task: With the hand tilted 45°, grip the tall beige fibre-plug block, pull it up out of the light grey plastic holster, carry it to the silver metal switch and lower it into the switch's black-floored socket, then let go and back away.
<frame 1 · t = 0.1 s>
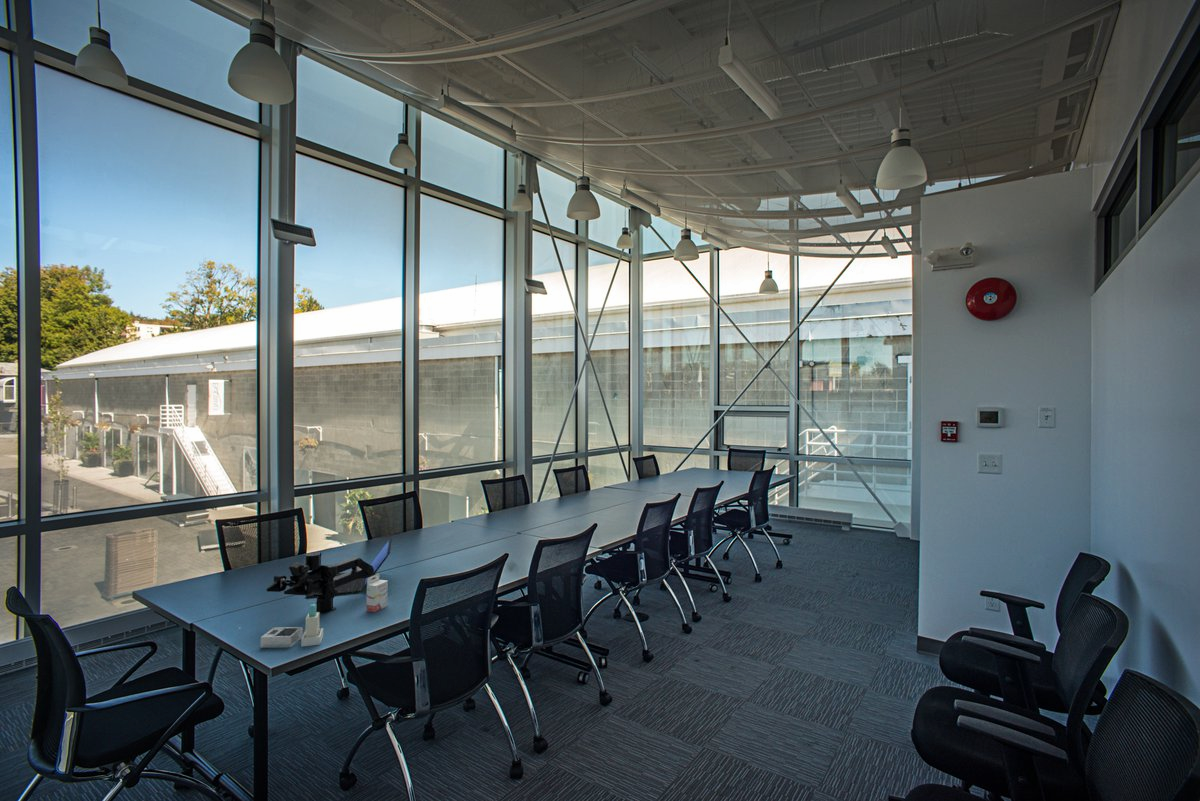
hand: (275, 591, 229), 17 cm above the table, tool horizontal, fingers open, 9 cm apart
holster: (312, 641, 221), on the table
laptop: (351, 585, 289), on the table
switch: (287, 642, 220), on the table
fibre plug: (312, 623, 221), in the holster
ink cartridge box: (377, 609, 256), on the table
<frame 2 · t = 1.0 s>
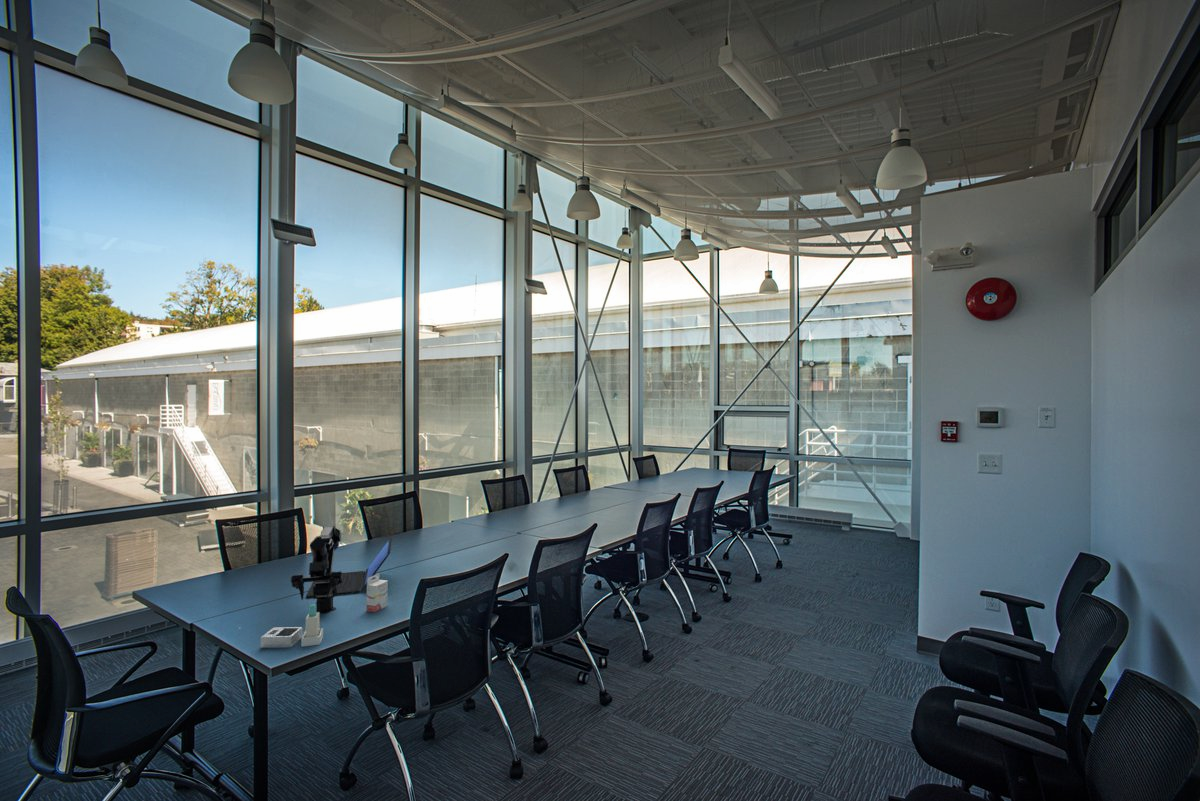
hand: (314, 598, 229), 14 cm above the table, tool tilted 45°, fingers open, 9 cm apart
nothing on the table moved.
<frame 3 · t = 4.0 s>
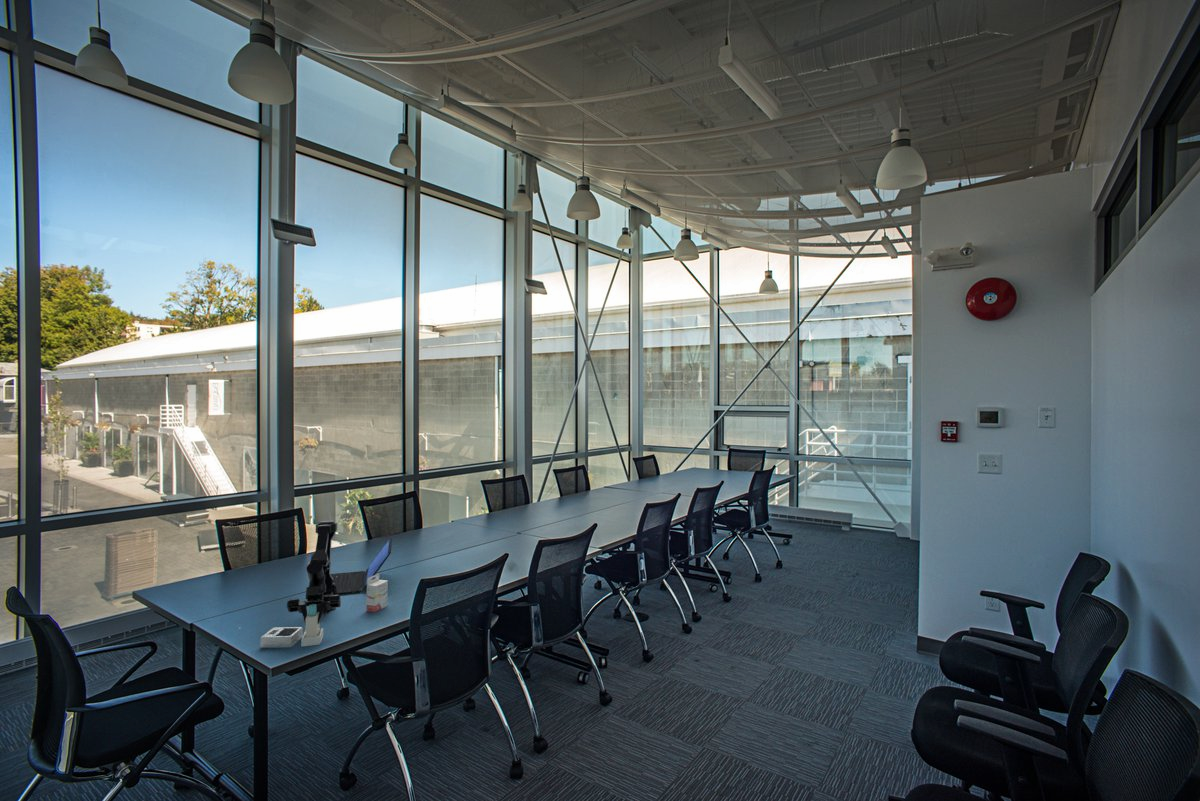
hand: (312, 624, 220), 7 cm above the table, tool tilted 45°, fingers closed on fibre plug, 4 cm apart
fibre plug: (312, 623, 221), in the holster, touching gripper
everything else where it was.
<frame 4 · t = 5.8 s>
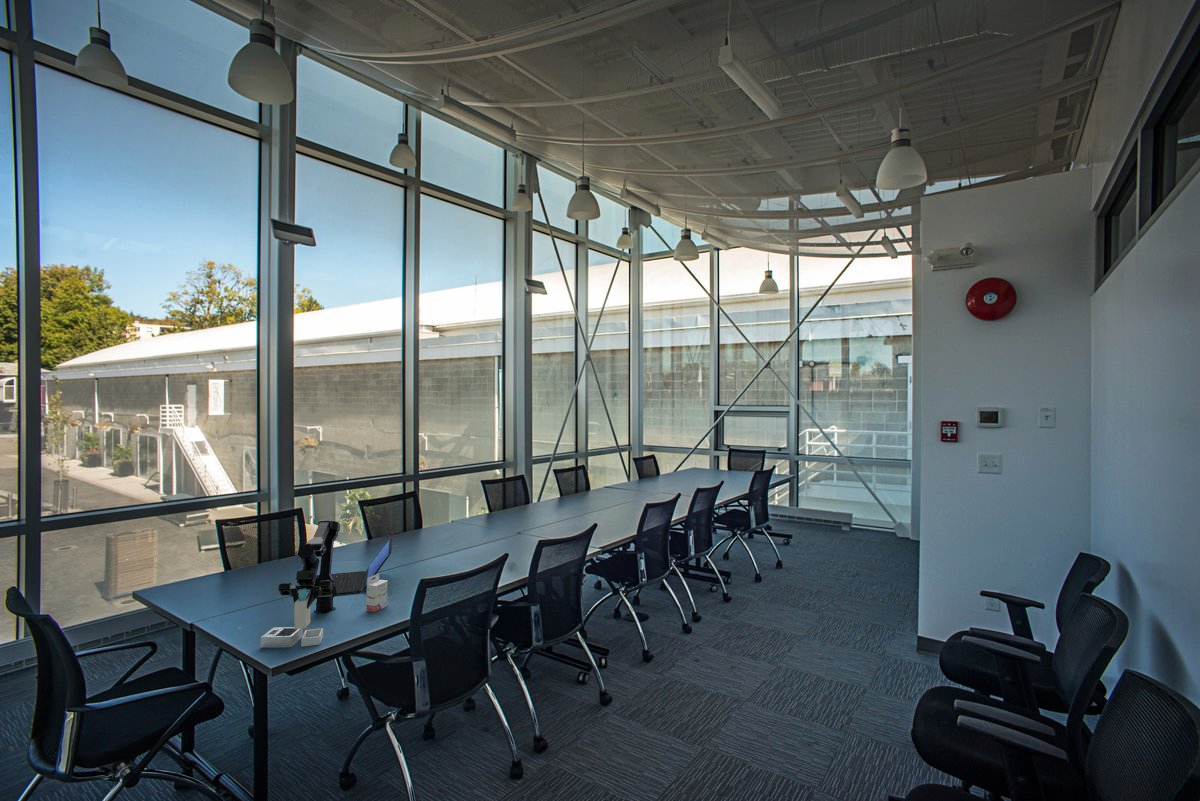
hand: (301, 608, 219), 13 cm above the table, tool tilted 45°, fingers closed on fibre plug, 4 cm apart
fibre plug: (302, 607, 220), point 13 cm above the table, touching gripper
everything else where it was.
when the fingers open (8 cm above the table, at t = 7.9 s): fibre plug stays where it is, resting on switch.
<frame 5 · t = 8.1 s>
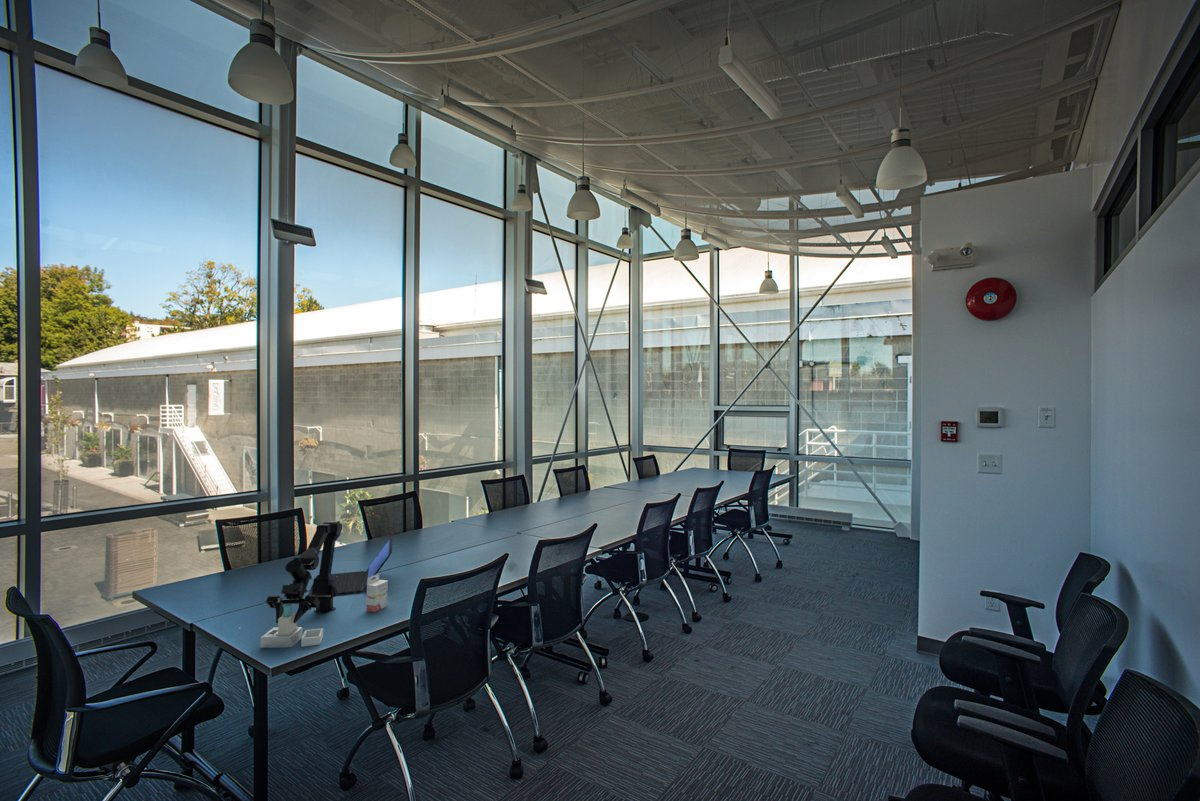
hand: (285, 622, 219), 8 cm above the table, tool tilted 45°, fingers open, 6 cm apart
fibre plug: (287, 623, 220), in the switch
everything else where it was.
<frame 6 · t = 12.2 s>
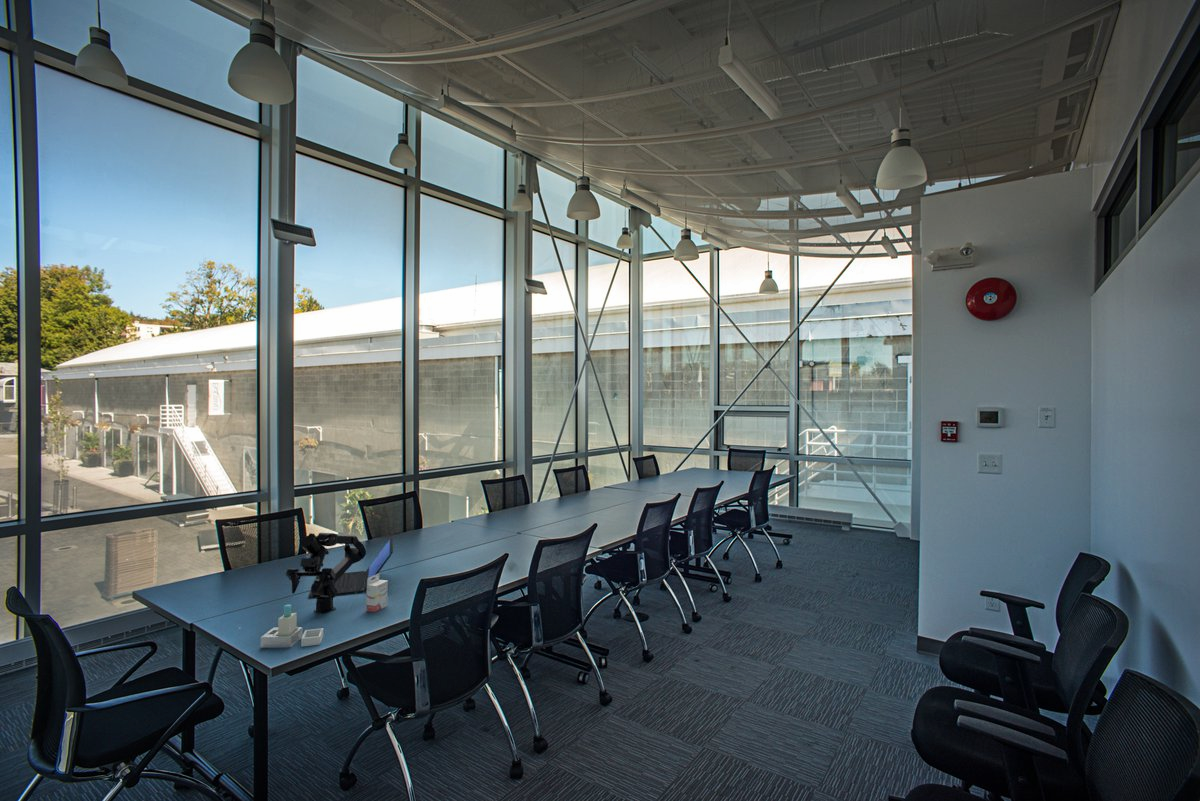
hand: (304, 593, 236), 14 cm above the table, tool tilted 45°, fingers open, 9 cm apart
nothing on the table moved.
at the end: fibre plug 0.0 cm off-centre on the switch, point 7.2 cm above the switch's base; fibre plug tilted 0°; the gripper is holding nothing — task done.
